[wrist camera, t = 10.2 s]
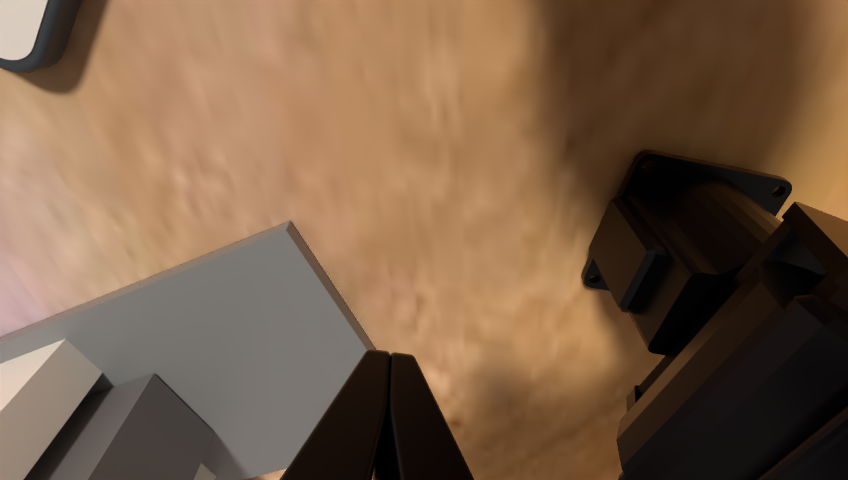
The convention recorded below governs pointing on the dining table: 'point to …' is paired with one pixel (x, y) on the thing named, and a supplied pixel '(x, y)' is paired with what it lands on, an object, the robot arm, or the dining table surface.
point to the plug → (127, 437)
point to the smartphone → (34, 32)
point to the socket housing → (194, 355)
